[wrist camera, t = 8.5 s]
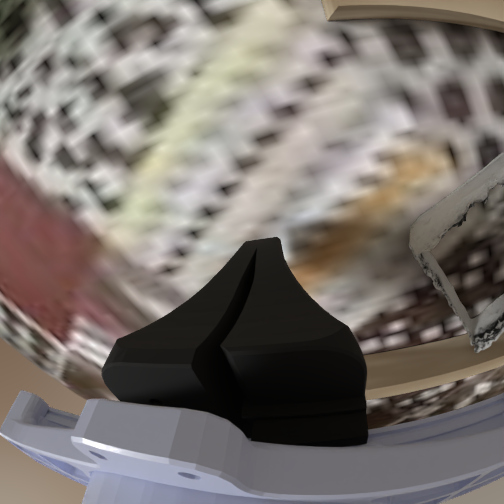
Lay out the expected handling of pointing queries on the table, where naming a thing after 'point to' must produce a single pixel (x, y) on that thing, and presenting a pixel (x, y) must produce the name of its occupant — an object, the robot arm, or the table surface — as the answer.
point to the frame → (457, 348)
